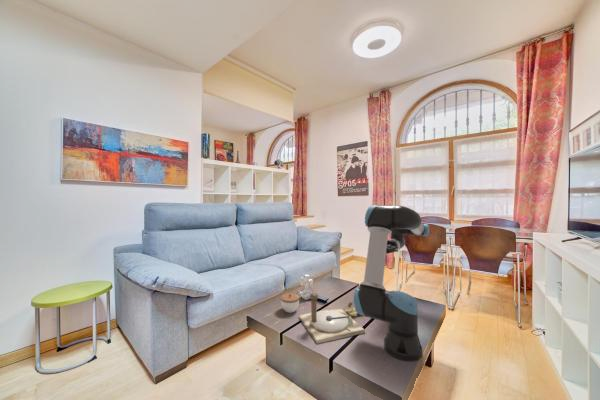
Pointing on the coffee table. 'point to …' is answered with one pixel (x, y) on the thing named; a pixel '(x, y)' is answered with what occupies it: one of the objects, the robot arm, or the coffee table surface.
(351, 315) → the cat figure
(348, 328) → the beige flat board
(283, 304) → the lidded jar
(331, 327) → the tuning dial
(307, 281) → the figurine
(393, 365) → the coffee table surface
